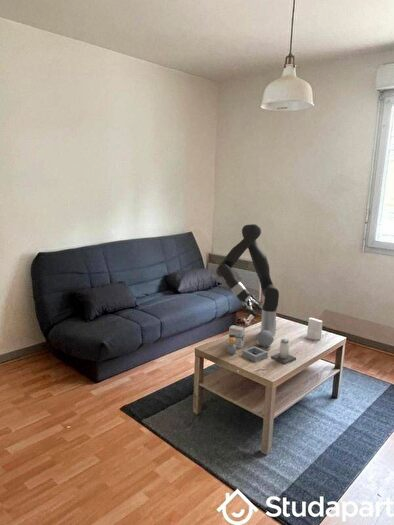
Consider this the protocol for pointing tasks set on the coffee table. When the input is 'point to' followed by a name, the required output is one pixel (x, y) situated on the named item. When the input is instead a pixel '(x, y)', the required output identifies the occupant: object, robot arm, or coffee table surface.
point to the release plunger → (232, 340)
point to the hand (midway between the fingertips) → (258, 312)
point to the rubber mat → (285, 361)
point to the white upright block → (314, 328)
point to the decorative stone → (265, 338)
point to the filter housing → (248, 352)
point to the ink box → (237, 335)
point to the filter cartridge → (284, 348)
